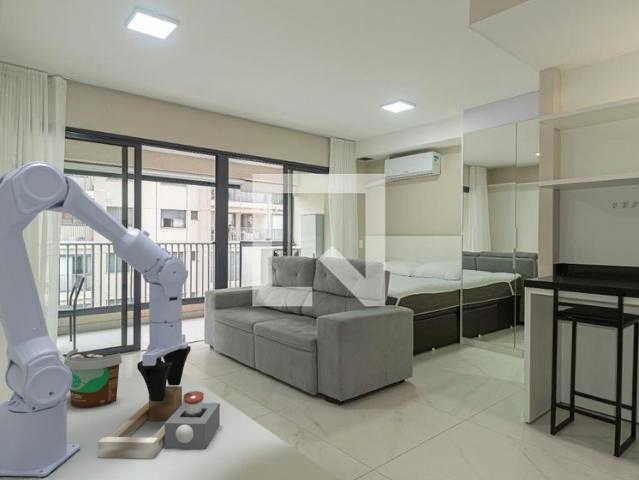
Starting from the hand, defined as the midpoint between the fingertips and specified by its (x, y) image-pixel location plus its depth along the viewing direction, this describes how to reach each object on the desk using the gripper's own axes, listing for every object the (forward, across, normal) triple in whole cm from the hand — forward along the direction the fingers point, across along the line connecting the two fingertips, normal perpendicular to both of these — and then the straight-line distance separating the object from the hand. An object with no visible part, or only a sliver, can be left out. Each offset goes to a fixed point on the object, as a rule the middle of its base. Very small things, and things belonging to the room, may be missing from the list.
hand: (166, 392), depth 76 cm
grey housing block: (+4, -8, -8) cm, 12 cm away
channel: (+4, -6, 0) cm, 7 cm away
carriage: (+5, 0, 0) cm, 5 cm away
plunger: (+2, -8, -8) cm, 11 cm away
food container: (+5, +5, +19) cm, 20 cm away
